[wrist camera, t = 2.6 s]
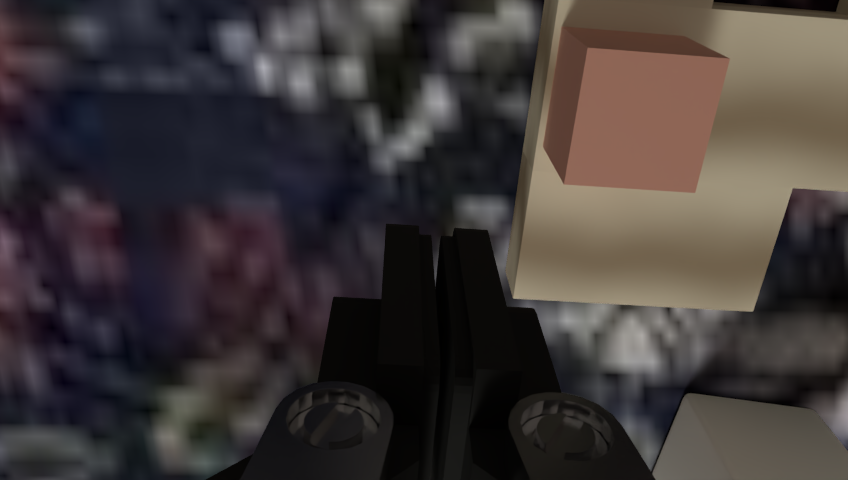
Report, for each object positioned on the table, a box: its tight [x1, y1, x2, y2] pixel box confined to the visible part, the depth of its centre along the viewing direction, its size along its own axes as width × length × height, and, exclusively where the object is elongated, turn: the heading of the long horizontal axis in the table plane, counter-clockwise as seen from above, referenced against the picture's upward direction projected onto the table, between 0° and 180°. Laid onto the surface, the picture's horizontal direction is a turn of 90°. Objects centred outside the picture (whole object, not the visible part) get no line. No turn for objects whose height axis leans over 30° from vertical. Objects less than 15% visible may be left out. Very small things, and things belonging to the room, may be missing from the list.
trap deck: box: [505, 0, 848, 312], centre depth 27 cm, size 18×23×6 cm
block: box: [543, 27, 730, 193], centre depth 25 cm, size 4×4×4 cm
